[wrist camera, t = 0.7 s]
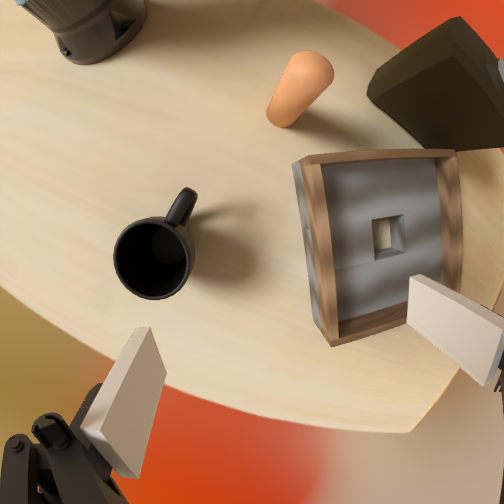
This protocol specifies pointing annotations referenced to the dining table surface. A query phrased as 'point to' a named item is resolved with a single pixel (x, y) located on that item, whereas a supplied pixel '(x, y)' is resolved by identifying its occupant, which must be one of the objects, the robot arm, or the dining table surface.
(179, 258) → the mug
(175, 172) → the dining table surface
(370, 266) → the crate
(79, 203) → the dining table surface
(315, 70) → the peg
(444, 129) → the bottle
